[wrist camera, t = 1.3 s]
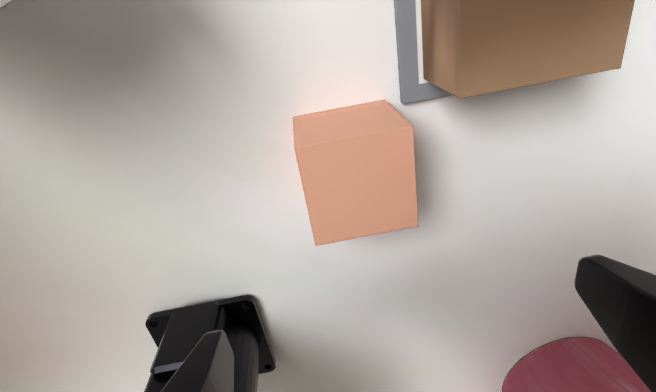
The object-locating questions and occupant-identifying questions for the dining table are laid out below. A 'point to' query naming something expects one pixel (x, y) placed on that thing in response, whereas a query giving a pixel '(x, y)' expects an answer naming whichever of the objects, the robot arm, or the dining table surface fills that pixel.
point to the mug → (4, 2)
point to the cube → (356, 171)
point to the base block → (519, 41)
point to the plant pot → (573, 369)
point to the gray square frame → (412, 54)
